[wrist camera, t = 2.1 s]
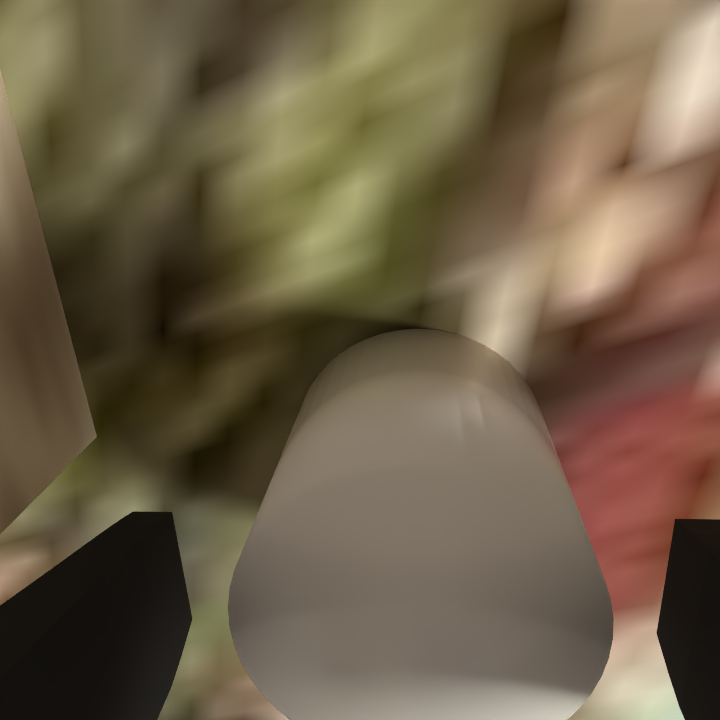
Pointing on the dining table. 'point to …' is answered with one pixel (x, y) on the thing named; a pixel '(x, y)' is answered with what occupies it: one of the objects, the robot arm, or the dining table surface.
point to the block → (32, 346)
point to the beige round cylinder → (420, 548)
